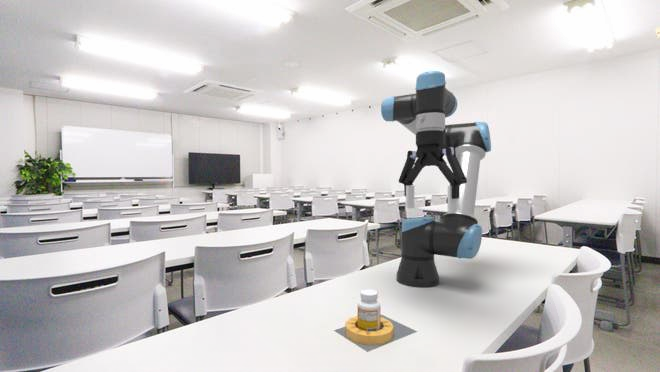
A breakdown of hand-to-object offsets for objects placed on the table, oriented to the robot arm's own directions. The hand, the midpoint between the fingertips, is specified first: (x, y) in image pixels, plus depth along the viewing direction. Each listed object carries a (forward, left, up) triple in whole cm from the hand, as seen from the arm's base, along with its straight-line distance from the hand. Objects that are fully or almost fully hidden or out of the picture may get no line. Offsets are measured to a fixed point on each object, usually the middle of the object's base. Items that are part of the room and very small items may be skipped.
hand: (429, 210), depth 88 cm
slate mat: (-1, -19, -29) cm, 34 cm away
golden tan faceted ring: (-1, -21, -28) cm, 35 cm away
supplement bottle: (-1, -21, -28) cm, 35 cm away
